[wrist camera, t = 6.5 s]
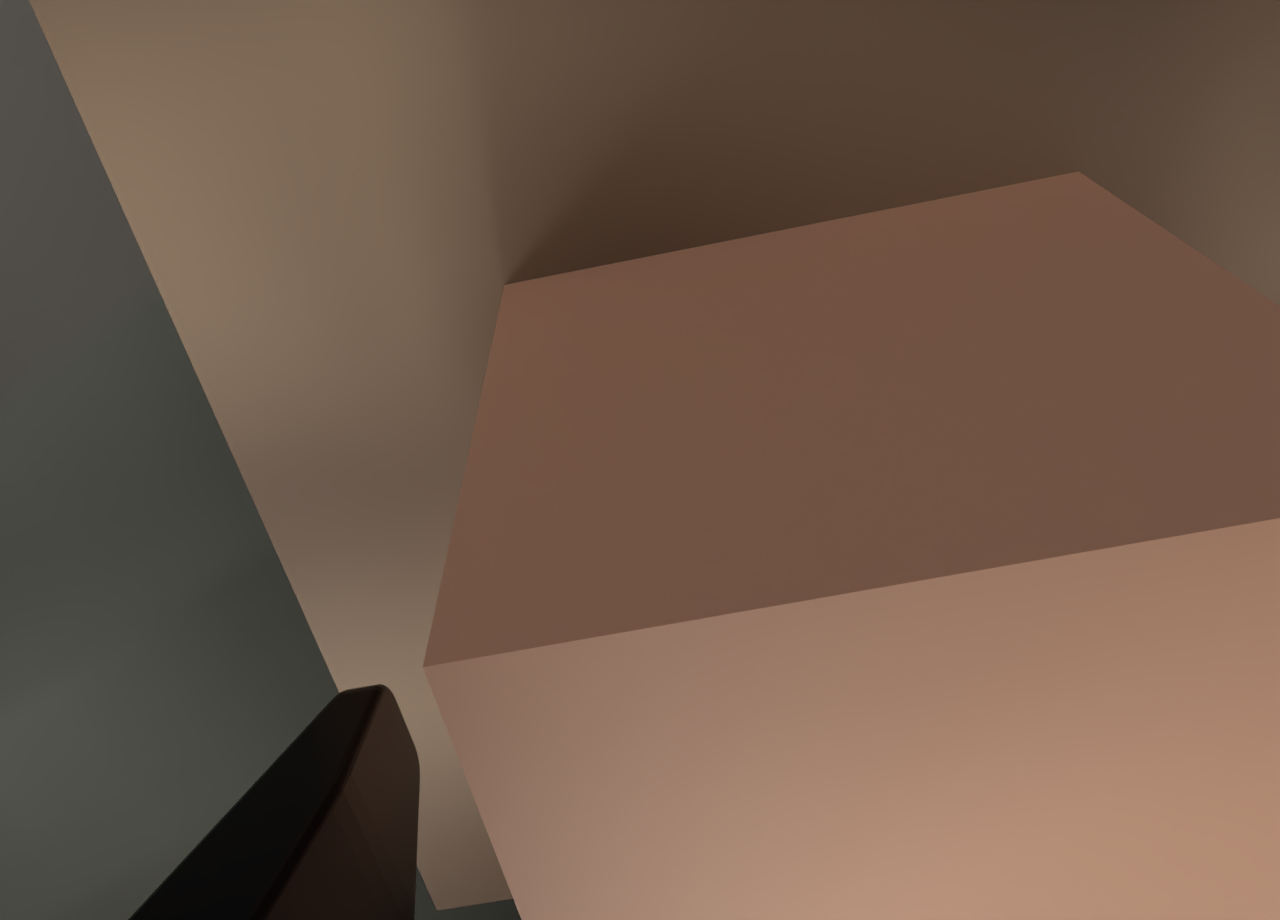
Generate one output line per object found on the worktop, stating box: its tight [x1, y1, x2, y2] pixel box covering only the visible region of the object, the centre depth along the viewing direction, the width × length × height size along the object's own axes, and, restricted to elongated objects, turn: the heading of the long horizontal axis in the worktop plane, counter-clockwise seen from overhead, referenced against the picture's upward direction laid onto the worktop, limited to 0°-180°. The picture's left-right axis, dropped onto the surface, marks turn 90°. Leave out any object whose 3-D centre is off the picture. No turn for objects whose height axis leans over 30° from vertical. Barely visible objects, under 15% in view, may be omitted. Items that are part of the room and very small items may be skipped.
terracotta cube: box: [423, 171, 1280, 920], centre depth 9 cm, size 6×6×6 cm
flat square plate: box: [29, 0, 1280, 911], centre depth 12 cm, size 12×12×1 cm
